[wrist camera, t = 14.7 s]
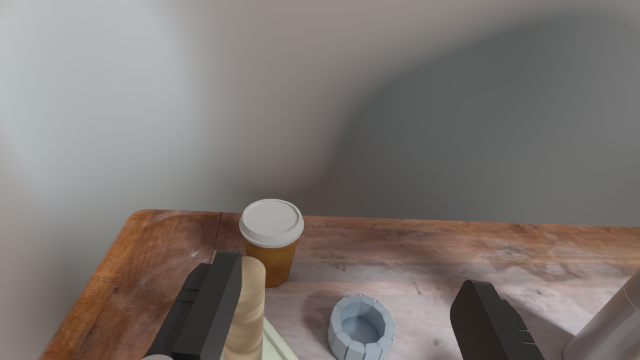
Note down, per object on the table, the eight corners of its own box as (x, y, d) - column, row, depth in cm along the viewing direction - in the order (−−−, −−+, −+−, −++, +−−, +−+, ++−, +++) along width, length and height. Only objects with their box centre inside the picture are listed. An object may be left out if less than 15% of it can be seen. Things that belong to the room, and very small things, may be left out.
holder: (355, 302, 48) (359, 285, 46) (399, 343, 43) (406, 326, 41) (315, 334, 43) (318, 316, 41) (360, 384, 38) (366, 367, 36)
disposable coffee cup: (304, 259, 55) (311, 205, 48) (288, 303, 47) (293, 245, 40) (254, 246, 56) (255, 191, 50) (229, 287, 48) (226, 228, 42)
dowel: (249, 354, 39) (250, 250, 29) (267, 381, 36) (274, 276, 27) (220, 375, 36) (210, 269, 27) (237, 405, 34) (233, 300, 25)
